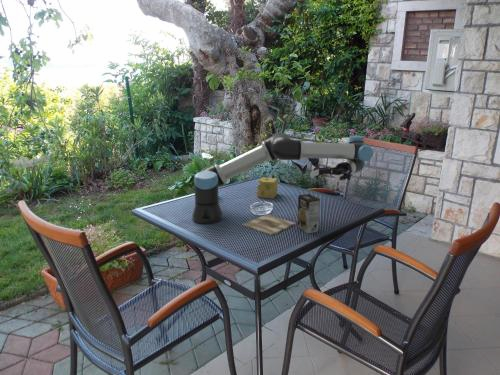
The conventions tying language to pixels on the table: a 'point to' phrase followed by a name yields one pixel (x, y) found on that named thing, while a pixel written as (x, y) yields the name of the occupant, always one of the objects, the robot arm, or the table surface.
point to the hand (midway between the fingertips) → (322, 177)
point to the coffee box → (308, 213)
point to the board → (269, 224)
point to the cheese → (267, 187)
